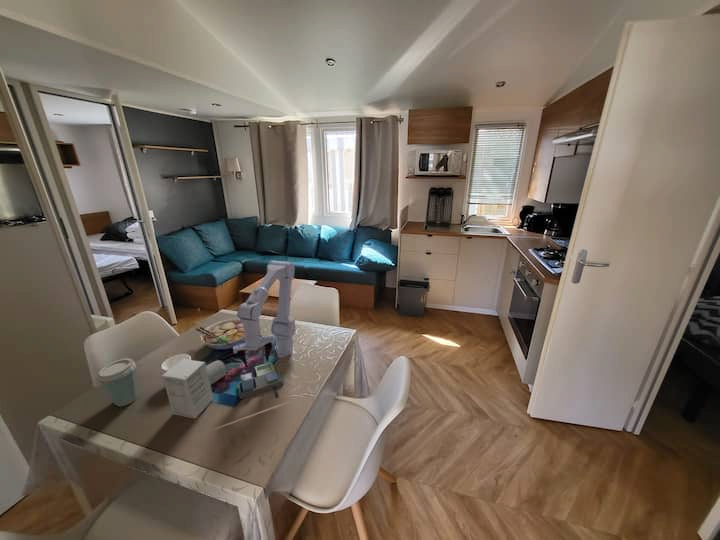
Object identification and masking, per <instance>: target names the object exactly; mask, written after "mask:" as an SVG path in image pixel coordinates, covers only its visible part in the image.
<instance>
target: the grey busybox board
mask: <svg viewBox="0 0 720 540" xmlns="http://www.w3.org/2000/svg"><path fill="white" fill-rule="evenodd" d="M253 382H254V384H255V387H256V388H255V387H254V389H252V390H249V391H246V392H243V391H241V388H242V382H241V381H238V382H237V390H238V396H239V400H242V399H244V398H247V397H250V396H254V395H257V394H259V393H262V392H266V391H269V390H271V389H273V392H274V396H275V398H276V399H277V398H279V394H278V389H277V388H278V387H280V386H283V385H284V380H283V377H282V374H281V372H280V370H279V369H278V370H275V371H274V372H271V373H267V374H264V375H261V376H258V377H257V376H254V377H253Z"/></svg>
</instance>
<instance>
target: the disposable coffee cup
mask: <svg viewBox="0 0 720 540" xmlns="http://www.w3.org/2000/svg"><path fill="white" fill-rule="evenodd" d="M136 368H137V364H136V362H135V360H133V359H132V358H129V357H126V358H121V359H117V360H115V361H113V362H110V363H108V364H107V365H105V366H103V367H102V368H101V369H100V370H99V372H98V373H97V374H96V376H97V381H98V382H99V383H100V384H101V386H102V387H103V389H104V391H105V392H106V393H107V394H108V396H109V397H110V399H111V401H112V402H113V403H114V405H115V406H117V407H124V406H127V405H129V404H132V403H133V402H134V401H135V400H136V399H137V398H138V395H139V390H138V382H137V380H138V379H137V371H136V370H137V369H136Z"/></svg>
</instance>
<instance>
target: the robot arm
mask: <svg viewBox="0 0 720 540" xmlns="http://www.w3.org/2000/svg"><path fill="white" fill-rule="evenodd" d="M295 268H296V267H295V265H294V263H293V262H292V261H280V260H274V259H272V260H270V261H269V262H268V264H267V265H266V274H265V276H264V278H263V279H262V281H261V283H260V285H259V286H257V287H254V289H253V291H252V292H251V293H250V295H249V297H248V298H247V299H246V301H245V302H243V303H242V304H240V305H239V306H238V308H237V313H236V315H237V319H240V321H241V323H242V324H243V330H244V336H245V340H244V341H243V342H242V343H240V344H239V345H237V346H234V347H232V349H233V350H232V351H233V354H234V355H235V354H237V357H238V358H239V359H240V360H241V361H242V362H243V364H244V366H245V368H248V361H247V358H246V352H245V351H246V350H251V351H257V350H259V348H260V347H263V346H264V356H265V357H264V358H265V362H269V357H270V353H271V351H272V349H273V345H274V344H275V343H276V344H275V345H276V346H274V349H275V353H276V355H277V358H279V359H280V358H283V357H287V356H291V355H293V354H296V353H297V352H296V350H295V347H294V343H293V336H294V335H295V333H296V330H297V329H296V320H295V319H294V317H292V315H290V314H291V313H290V312H291V311H290V309H291V296H292V295H291V294H292V281H293V280H294V279H295ZM277 280H278V281H279V288H278V289H279V290H278V306H277V316H275V317H274V318H273V319H272V323H271V326H270V333H271V334H272V335H273V336H269V337H262V331H261V326H260V316H261V315H262V309H263V305H264V304H265V302H266V301H267V299H268V297H269V290H270V289H271V287H273V285H274V284H275V282H276V281H277ZM272 344H273V345H272Z"/></svg>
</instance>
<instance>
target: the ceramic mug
mask: <svg viewBox="0 0 720 540" xmlns="http://www.w3.org/2000/svg"><path fill="white" fill-rule="evenodd" d="M206 369H207V373H208V377H209V382H210V386H212V385H213V384H215V383H216V382H218V381H219V380H220V379H222V378H223V377H224V376H226V374H227V371H228V369H227V365H226V364H225V363H224V362H223V361H222V360H219V359H218V360H215V361H213V362H210V363H209V364H207V365H206Z"/></svg>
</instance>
